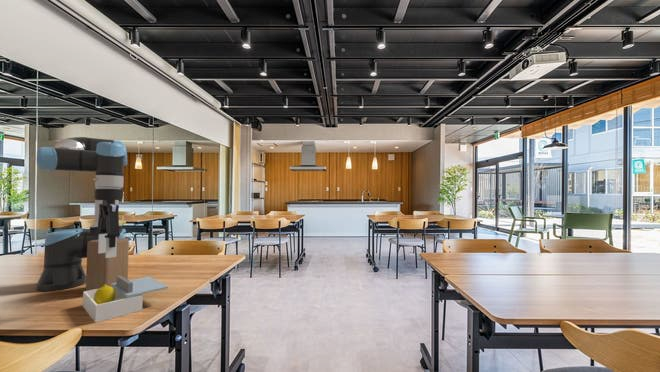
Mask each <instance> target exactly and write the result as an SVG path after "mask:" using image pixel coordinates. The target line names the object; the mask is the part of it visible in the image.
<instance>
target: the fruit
mask: <svg viewBox="0 0 660 372" xmlns="http://www.w3.org/2000/svg"><path fill="white" fill-rule="evenodd" d="M114 299H115V291H114V289H113V287H110V286H107V285H106V284H104V285H103V287H101V288H99V289H98V290H97V291H96V293H95V295H94V301H95V302H96V303H97V304H98V305H99V304H103V303H107V302H112V301H114Z"/></svg>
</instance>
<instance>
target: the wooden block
mask: <svg viewBox="0 0 660 372" xmlns="http://www.w3.org/2000/svg"><path fill="white" fill-rule="evenodd" d="M98 241H99V240H92V241H89V242H88V243H87V258H86V271H85V272H86V273H85V274H86V283H85V291H89V290H95V289H99V288H101V287H103V285H104V284H106V285H107V286H112V283H116V282H117V276H120V275H121V276H123V277H124V278H126V279H127V280H129V279H128V278H129V277H128V276H129V275H128V274H129V250H130V249H129V248H130V246H129V245H130V240H129V238H126V237H125V238H117V254H116V257H111V258H105V256H106V253H99V254H98Z"/></svg>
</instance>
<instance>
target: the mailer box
mask: <svg viewBox="0 0 660 372" xmlns="http://www.w3.org/2000/svg"><path fill="white" fill-rule="evenodd" d="M110 287H113V286H110ZM113 289H114V291H115V299H114V301H112V302H107V303H103V304H99V305H98V304H97V303H96V302H95V301H94V295H95V293H96V291H97V290H98V289H95V290H89V291H86V290H84V291H83V292H82V308H83V309H84V310H85V311H86V312H87V314H88V315H89V317H91V319H92V320H93V322H94V323H95V324H96V323H100V322H102V321H107V320H111V319H114V318H118V317H122V316H126V315H129V314H133V313H137V312H141V311H143V302H144V301H143V298H144V297H143V295H144V294H140V295H136V296H131V297H126V296H125V295H124V294H122V293H121V292H120V291H119V290H117V289H116V288H115V287H113Z"/></svg>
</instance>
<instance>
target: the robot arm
mask: <svg viewBox="0 0 660 372" xmlns="http://www.w3.org/2000/svg"><path fill="white" fill-rule="evenodd" d="M127 165H128V152H127V148H126V144H125V143H124V142H123V141H121V140H114V139H106V138H105V139H103V138H97V137H96V138H93V137H86V136H79V137H78V136H75V137H74V136H73V137H67V138H63V139H61V140H59V141H57V142H56V143H55V144H54V146H40V147H38V149H37V152H36V166H37V168H39V170H46V171H66V172H67V171H69V172H87V173H88V172H89V173H95V177H93V179H92V180H93V182H94V187H95V189H94V198H93V199H94V216H93V217H94V218H93V219H94V220H93V221H94V222H93V223H92V224H91V225H90V226H89V230H84V229H83V228H82V227H79V228H78V227H77V228H70V229H69V228H68V229H61V230H58V231H53V232H50V233H48V234H46V235H45V238H44V244H43V246H44V252H43V253H44V256H43V269H42V272H41V274H40V276H39V278H38V281H37V283H36V291H41V292H52V291H60V290H66V289H70V288H71V289H72V288H74V287H79V286H82V285H85V284H86V273H85V272H86V271H85V269H84V268H83V265H82V263H83V262H82V261H83V260H82V259H87V243H88V242H89V241H92V240H99V241H98V254H99V253H106V256H105V258H111V257H116V254H117V238H126V232H127V231H126V228H123V225H122V224H121V223H120V221H119V220H120V219H119V218H120V217H119V208H120V206H119V204H120V203H119V201H122V200H123V199H124V190H123V188H124V181H125V180H124V170H125V169H124V168H125V166H127Z"/></svg>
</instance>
